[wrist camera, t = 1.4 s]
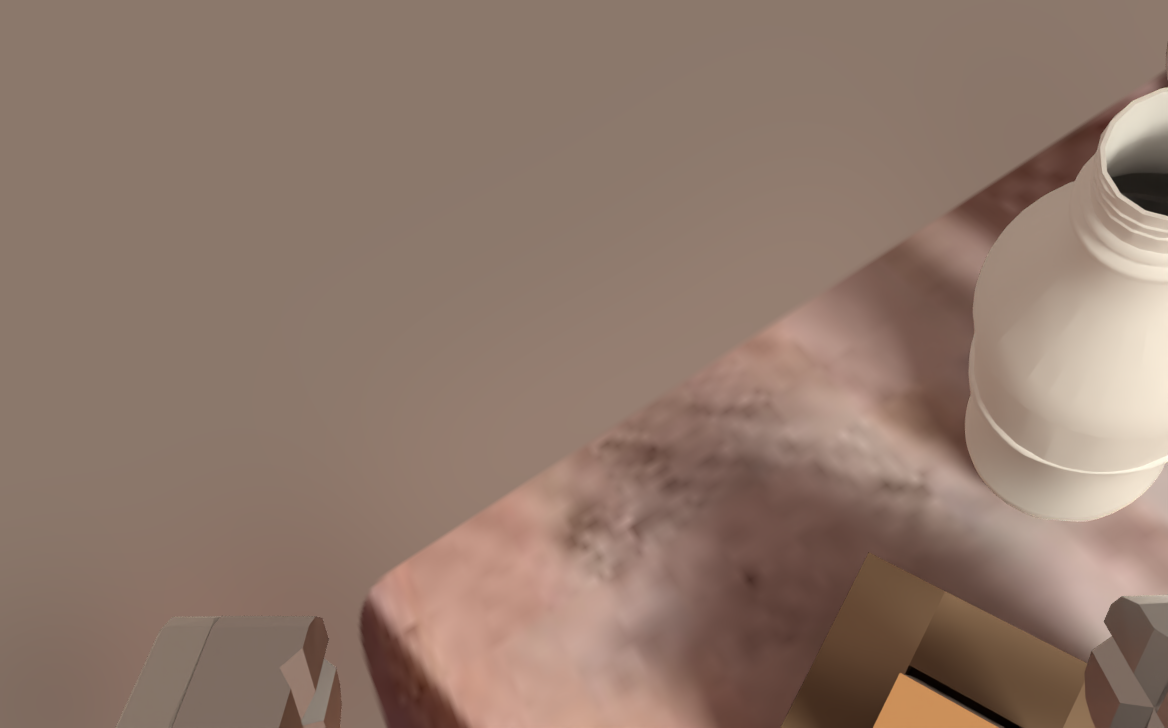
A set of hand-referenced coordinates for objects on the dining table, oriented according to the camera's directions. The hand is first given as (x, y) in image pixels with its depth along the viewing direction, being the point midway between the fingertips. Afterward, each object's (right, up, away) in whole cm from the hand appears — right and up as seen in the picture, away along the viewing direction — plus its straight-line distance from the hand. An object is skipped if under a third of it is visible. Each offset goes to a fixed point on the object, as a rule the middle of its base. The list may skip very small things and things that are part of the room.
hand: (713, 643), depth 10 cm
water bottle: (+19, -1, +31) cm, 36 cm away
